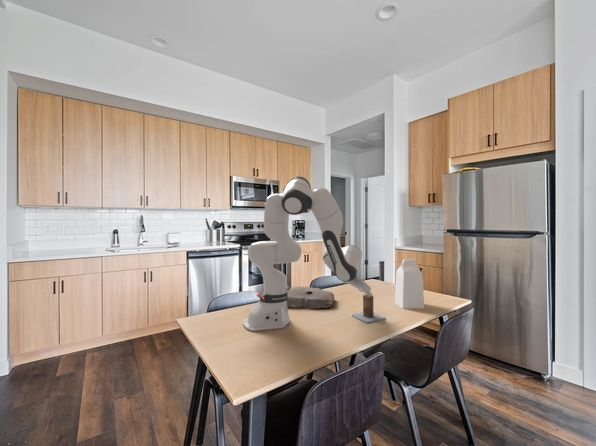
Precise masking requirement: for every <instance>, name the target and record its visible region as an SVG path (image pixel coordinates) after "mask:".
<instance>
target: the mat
mask: <svg viewBox="0 0 596 446" xmlns="http://www.w3.org/2000/svg"><path fill="white" fill-rule="evenodd" d="M351 316H352V317H353V318H354V319H357V320H359V321H360V322H362V323H365V324H371V323H375V322H379V321H384V320H386V319H387V318H386V317H385V316H382V315H381V314H378V313H375V312H374V317H372V318H367V317H364V316H363V312H360V313H354V314H351Z"/></svg>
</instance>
